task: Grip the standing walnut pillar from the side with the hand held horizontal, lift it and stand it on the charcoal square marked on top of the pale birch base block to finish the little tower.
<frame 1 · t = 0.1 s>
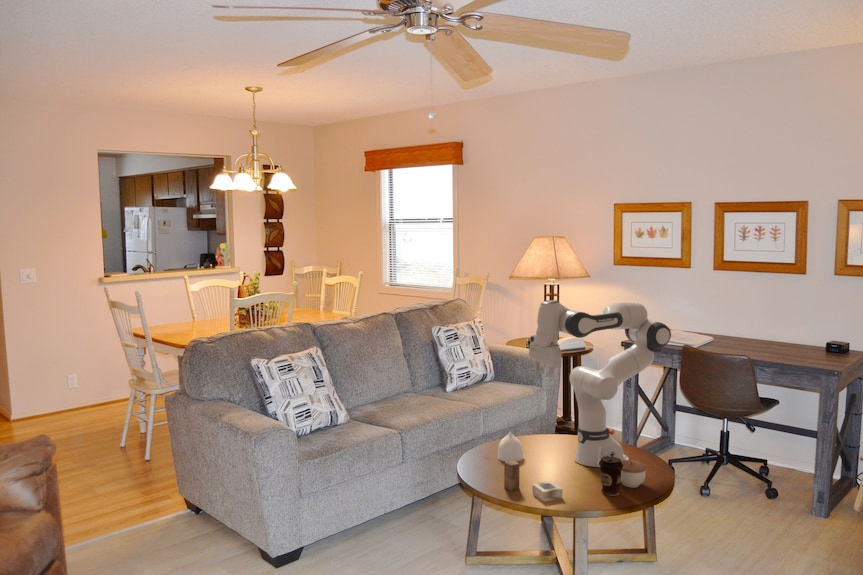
hand: (543, 374, 274), 39 cm above the table, tool pointing down, fingers open, 8 cm apart
lidded jar: (630, 485, 260), on the table
birch plinth: (547, 496, 251), on the table
teardrop: (510, 458, 291), on the table
coffee cup: (610, 493, 253), on the table
walnut pillar: (511, 488, 258), on the table
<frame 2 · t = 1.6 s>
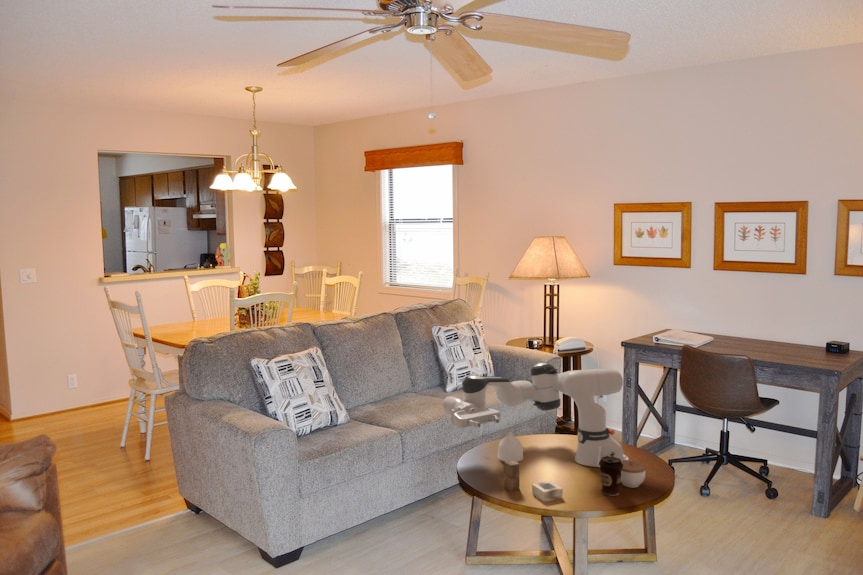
hand: (488, 423, 268), 22 cm above the table, tool horizontal, fingers open, 8 cm apart
nothing on the table moved.
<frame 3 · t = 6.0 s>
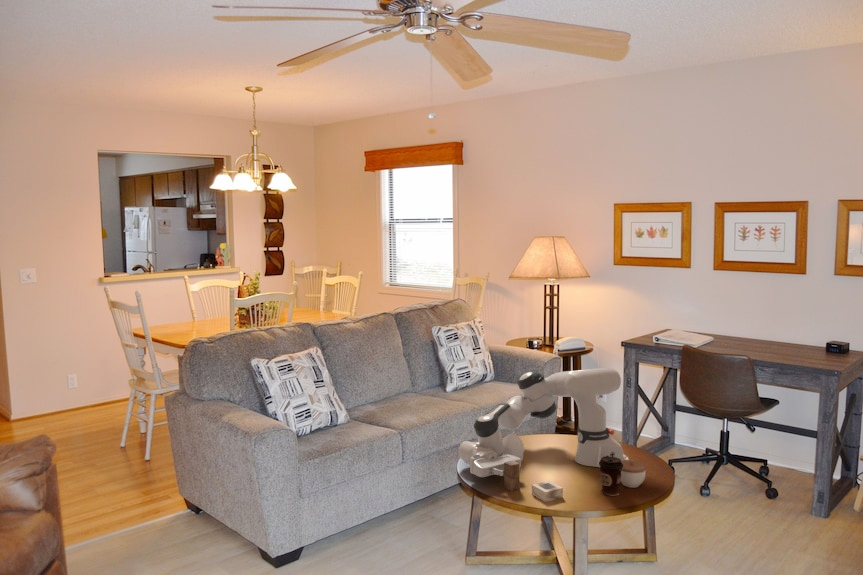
hand: (510, 472, 257), 6 cm above the table, tool horizontal, fingers open, 5 cm apart
teardrop: (510, 456, 290), point 1 cm above the table, touching arm
walnut pillar: (511, 488, 258), on the table, touching gripper
everything else where it was.
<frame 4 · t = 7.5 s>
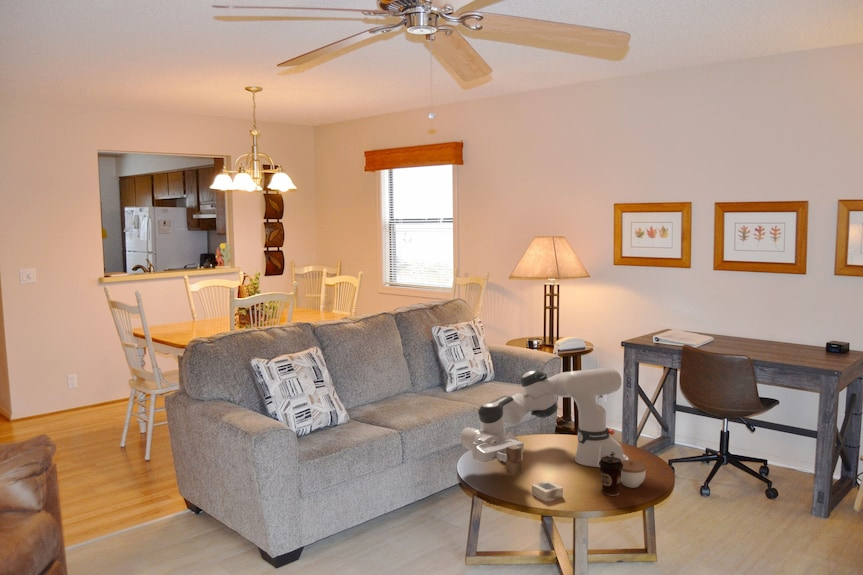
hand: (513, 455, 256), 13 cm above the table, tool horizontal, fingers closed on walnut pillar, 4 cm apart
teardrop: (510, 458, 290), on the table
walnut pillar: (514, 473, 256), point 6 cm above the table, touching gripper
everything else where it was.
when the fingers open (11 cm above the table, at t = 10.6 s): walnut pillar stays where it is, point 4 cm above the table.
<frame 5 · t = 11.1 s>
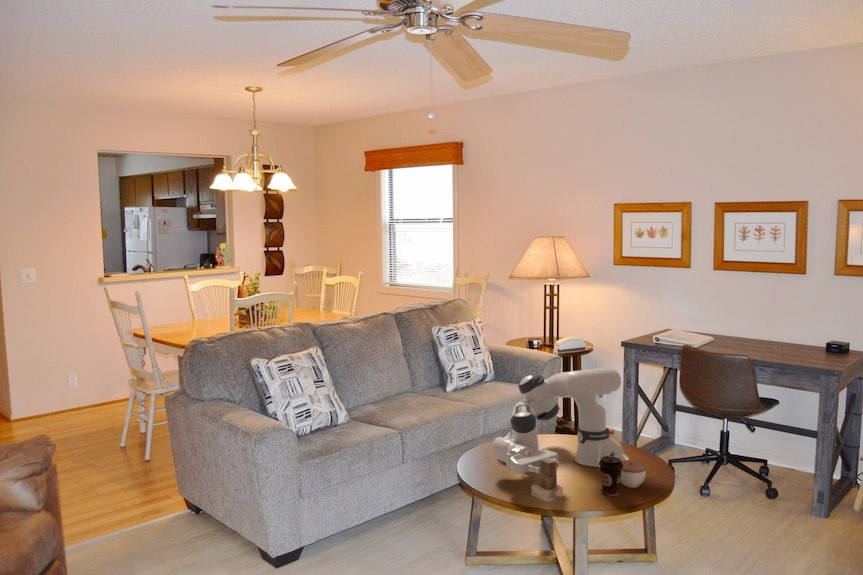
hand: (548, 467, 249), 11 cm above the table, tool horizontal, fingers open, 8 cm apart
walnut pillar: (548, 486, 250), point 4 cm above the table
everything else where it was.
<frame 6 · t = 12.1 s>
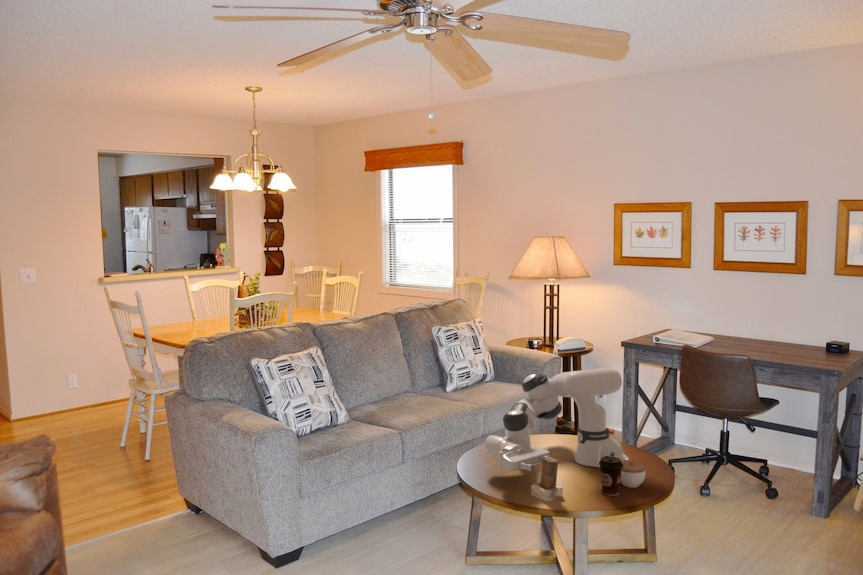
hand: (541, 465, 252), 11 cm above the table, tool horizontal, fingers open, 8 cm apart
birch plinth: (546, 496, 251), on the table, touching walnut pillar
walnut pillar: (547, 485, 250), point 4 cm above the table, touching birch plinth
everything else where it was.
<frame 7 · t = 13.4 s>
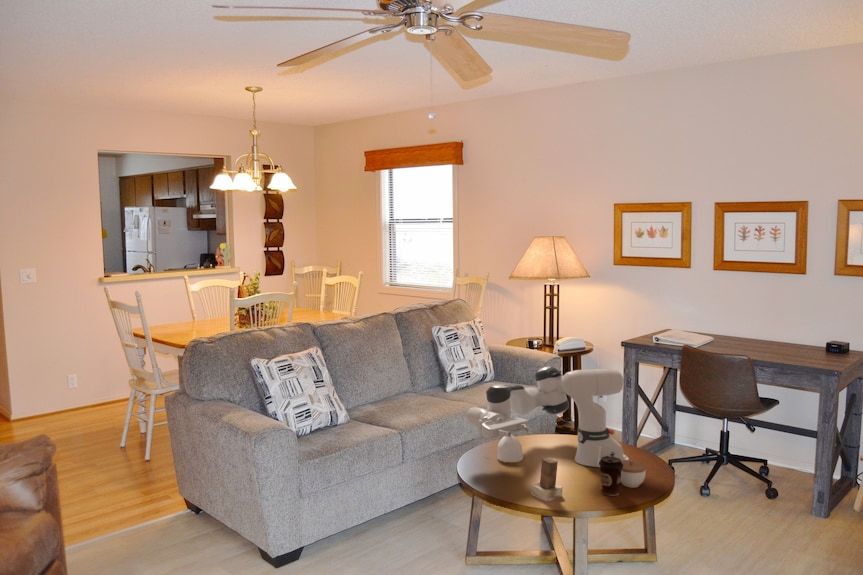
hand: (518, 432, 261), 20 cm above the table, tool horizontal, fingers open, 8 cm apart
birch plinth: (546, 496, 251), on the table
walnut pillar: (547, 486, 250), point 4 cm above the table, tilted 5°
everything else where it was.
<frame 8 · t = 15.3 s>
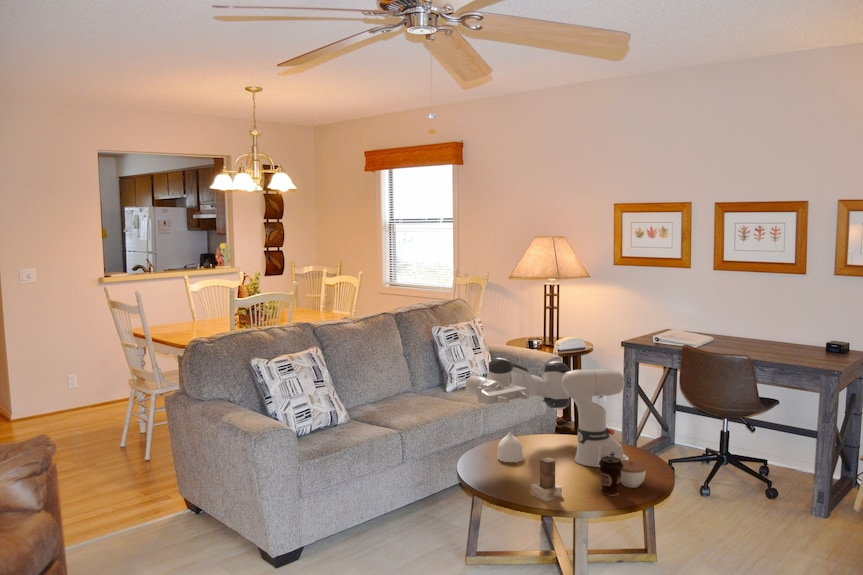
hand: (516, 398, 264), 32 cm above the table, tool horizontal, fingers open, 8 cm apart
walnut pillar: (547, 486, 251), point 4 cm above the table
everything else where it was.
at the end: walnut pillar 0.5 cm off-centre on the birch plinth, point 4.0 cm above the birch plinth's base; walnut pillar tilted 1°; the gripper is holding nothing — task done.
